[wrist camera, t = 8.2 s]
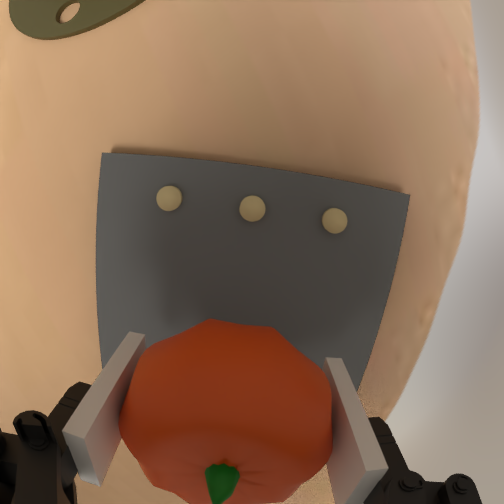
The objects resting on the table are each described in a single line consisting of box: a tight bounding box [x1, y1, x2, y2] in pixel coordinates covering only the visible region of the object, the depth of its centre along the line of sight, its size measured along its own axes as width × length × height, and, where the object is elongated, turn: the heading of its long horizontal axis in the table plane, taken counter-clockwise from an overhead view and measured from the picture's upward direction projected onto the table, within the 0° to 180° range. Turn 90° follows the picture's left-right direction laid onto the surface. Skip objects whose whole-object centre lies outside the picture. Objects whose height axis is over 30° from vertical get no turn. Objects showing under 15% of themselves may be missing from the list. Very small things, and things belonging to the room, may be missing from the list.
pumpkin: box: [118, 319, 333, 504], centre depth 10 cm, size 8×8×7 cm
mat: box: [96, 153, 410, 392], centre depth 17 cm, size 18×16×1 cm
